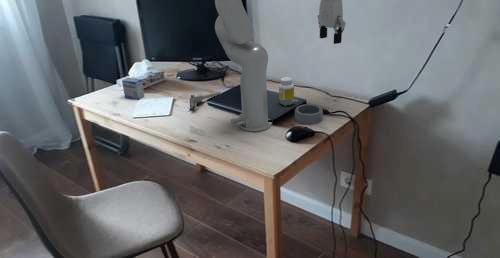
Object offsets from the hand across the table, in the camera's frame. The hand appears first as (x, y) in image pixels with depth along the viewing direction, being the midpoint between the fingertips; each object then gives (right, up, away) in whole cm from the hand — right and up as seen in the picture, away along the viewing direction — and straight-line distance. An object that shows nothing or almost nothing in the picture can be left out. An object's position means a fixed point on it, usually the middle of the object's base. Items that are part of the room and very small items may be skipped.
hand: (330, 40), depth 165 cm
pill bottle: (-16, -24, +12) cm, 31 cm away
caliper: (-50, -23, +19) cm, 58 cm away
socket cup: (-9, -31, -2) cm, 32 cm away
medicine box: (-84, -21, +27) cm, 91 cm away
